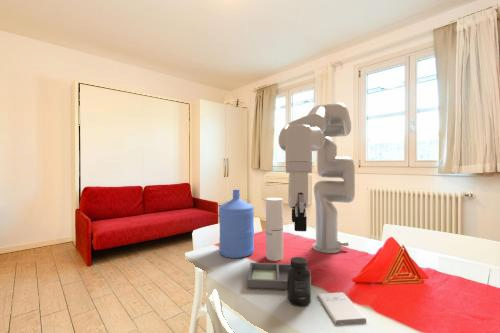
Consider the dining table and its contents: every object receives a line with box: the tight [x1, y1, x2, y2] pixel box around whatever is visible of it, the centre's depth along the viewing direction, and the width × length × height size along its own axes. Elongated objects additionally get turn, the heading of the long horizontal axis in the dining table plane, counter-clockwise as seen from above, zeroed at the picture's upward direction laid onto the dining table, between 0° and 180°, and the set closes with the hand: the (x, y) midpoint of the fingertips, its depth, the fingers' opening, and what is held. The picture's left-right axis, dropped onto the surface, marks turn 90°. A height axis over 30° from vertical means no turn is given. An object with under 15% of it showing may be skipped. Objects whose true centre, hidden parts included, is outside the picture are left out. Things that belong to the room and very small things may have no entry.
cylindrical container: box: [265, 197, 284, 262], centre depth 104 cm, size 7×7×25 cm
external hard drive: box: [317, 292, 367, 325], centre depth 69 cm, size 2×8×12 cm
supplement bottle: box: [286, 256, 312, 307], centre depth 73 cm, size 7×7×12 cm
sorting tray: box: [246, 262, 291, 291], centre depth 85 cm, size 20×13×3 cm, turn 85°
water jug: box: [218, 189, 255, 259], centre depth 110 cm, size 16×16×28 cm
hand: (298, 226), depth 72 cm, fingers open, 9 cm apart
